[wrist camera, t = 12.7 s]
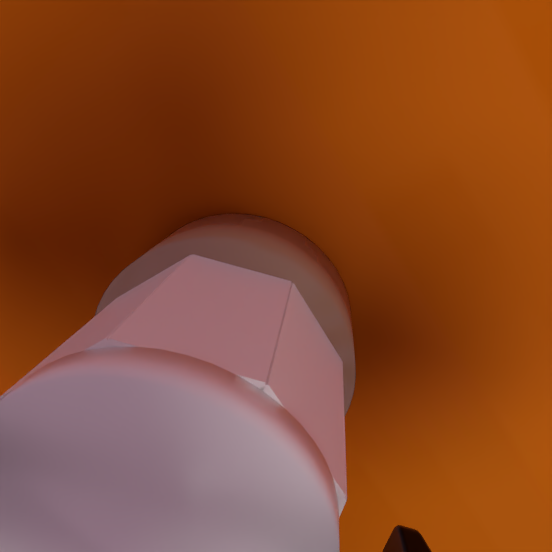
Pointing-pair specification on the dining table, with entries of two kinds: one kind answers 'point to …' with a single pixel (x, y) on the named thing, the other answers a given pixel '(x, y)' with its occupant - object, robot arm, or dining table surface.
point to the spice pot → (261, 258)
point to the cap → (180, 424)
